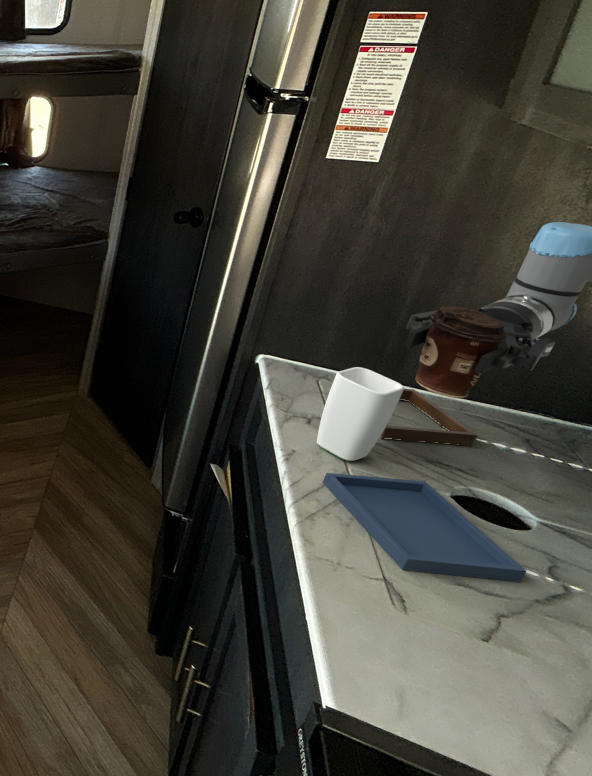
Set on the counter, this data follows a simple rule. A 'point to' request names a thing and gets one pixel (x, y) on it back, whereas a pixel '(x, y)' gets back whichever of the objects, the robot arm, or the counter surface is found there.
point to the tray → (421, 528)
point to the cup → (357, 412)
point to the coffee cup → (456, 349)
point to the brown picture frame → (453, 436)
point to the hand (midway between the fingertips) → (444, 351)
